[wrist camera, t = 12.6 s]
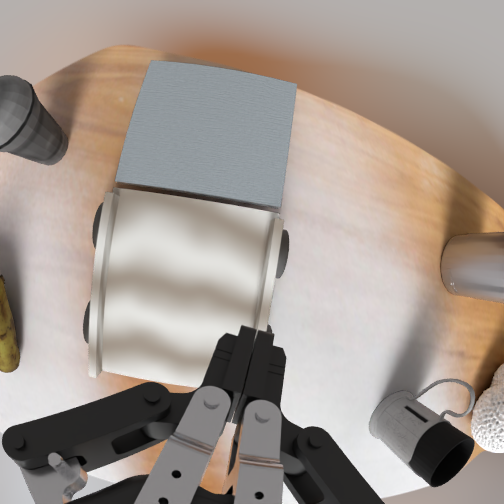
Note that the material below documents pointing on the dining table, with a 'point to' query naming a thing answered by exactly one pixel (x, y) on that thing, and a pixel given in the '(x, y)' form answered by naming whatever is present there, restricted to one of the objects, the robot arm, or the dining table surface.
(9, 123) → the beverage cup
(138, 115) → the panel
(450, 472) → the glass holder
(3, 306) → the potato
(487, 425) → the cauliflower
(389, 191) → the dining table surface
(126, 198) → the flatbed cart
